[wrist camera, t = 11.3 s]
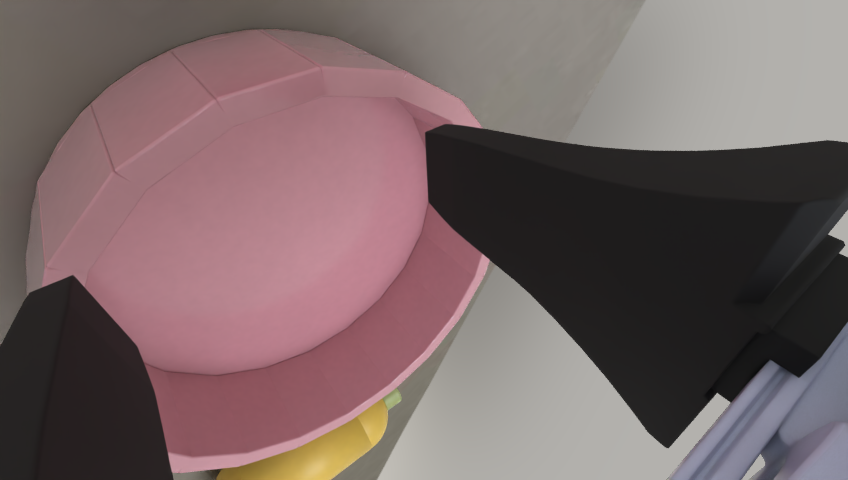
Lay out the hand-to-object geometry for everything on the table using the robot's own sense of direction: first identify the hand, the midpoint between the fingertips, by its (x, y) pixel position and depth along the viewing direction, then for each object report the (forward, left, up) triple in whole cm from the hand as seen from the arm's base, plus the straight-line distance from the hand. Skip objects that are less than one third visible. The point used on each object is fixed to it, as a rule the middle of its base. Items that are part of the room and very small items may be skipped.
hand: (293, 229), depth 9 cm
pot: (+1, -7, -8) cm, 11 cm away
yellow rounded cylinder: (-3, -21, -8) cm, 23 cm away
